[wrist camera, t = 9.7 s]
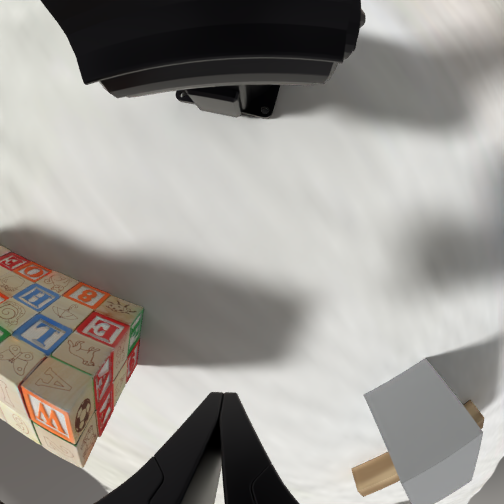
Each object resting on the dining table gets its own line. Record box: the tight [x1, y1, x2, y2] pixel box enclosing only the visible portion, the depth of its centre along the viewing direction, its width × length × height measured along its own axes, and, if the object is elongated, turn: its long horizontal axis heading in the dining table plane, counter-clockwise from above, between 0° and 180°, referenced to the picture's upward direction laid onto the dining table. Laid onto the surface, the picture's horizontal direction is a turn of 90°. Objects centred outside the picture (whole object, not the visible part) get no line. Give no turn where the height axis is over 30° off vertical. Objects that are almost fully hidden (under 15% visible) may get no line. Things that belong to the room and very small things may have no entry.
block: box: [364, 358, 483, 504], centre depth 19 cm, size 14×7×11 cm, turn 30°
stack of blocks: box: [0, 245, 144, 468], centre depth 15 cm, size 21×6×12 cm, turn 73°
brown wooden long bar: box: [352, 400, 484, 497], centre depth 24 cm, size 3×18×4 cm, turn 120°
